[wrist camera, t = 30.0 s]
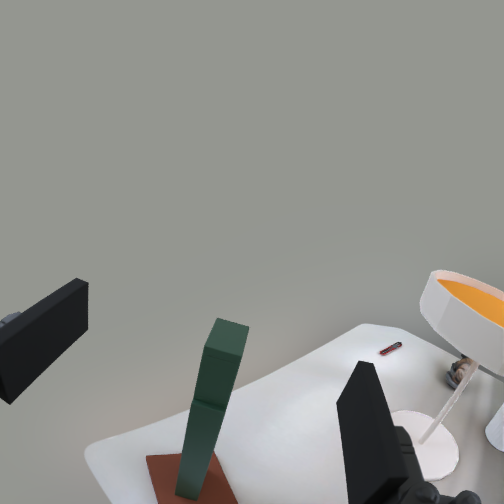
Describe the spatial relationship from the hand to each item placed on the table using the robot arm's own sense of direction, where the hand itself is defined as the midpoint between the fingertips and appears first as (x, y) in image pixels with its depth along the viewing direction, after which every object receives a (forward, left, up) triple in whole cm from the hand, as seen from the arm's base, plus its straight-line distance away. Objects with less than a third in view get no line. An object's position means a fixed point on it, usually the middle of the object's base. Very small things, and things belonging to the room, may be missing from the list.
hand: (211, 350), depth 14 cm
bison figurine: (+80, +13, -32) cm, 88 cm away
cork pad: (+5, +9, -32) cm, 34 cm away
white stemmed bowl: (+48, +2, -32) cm, 58 cm away
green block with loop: (+5, +9, -31) cm, 33 cm away
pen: (+70, +33, -32) cm, 84 cm away
